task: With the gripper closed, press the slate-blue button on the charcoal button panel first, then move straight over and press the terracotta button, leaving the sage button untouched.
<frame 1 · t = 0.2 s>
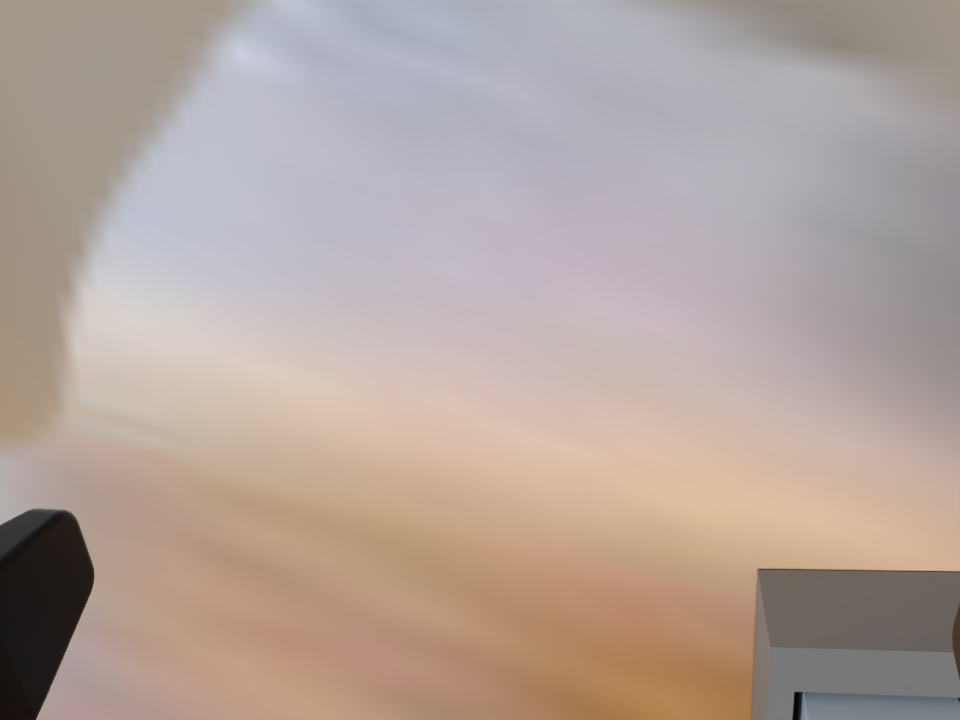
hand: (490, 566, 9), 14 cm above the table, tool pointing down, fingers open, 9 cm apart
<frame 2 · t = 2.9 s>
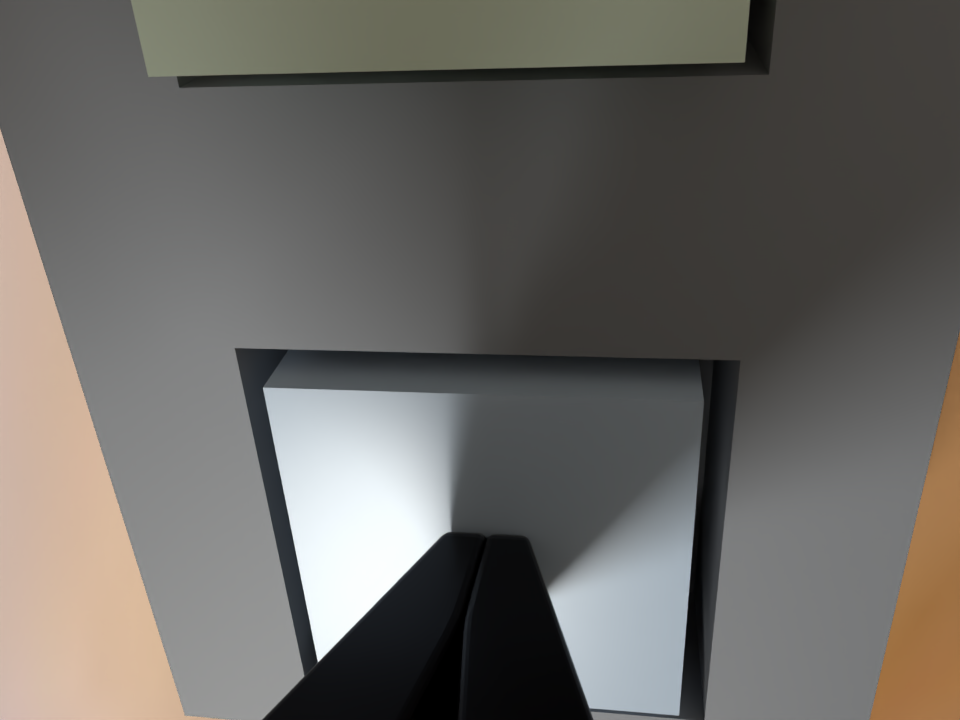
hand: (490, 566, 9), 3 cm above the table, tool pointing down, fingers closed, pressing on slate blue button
slate blue button: (497, 507, 10), point 2 cm above the table, slide at 0.8 cm, touching gripper
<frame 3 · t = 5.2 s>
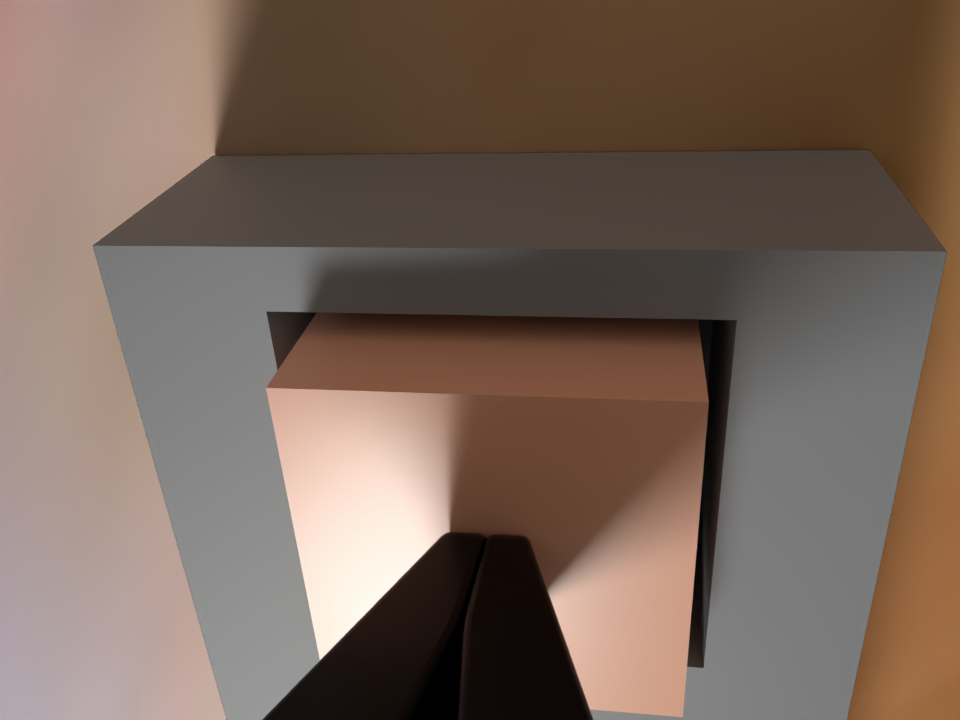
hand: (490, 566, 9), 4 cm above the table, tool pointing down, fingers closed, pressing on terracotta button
terracotta button: (501, 507, 10), point 3 cm above the table, slide at 0.0 cm, touching gripper
button panel: (540, 712, 16), on the table
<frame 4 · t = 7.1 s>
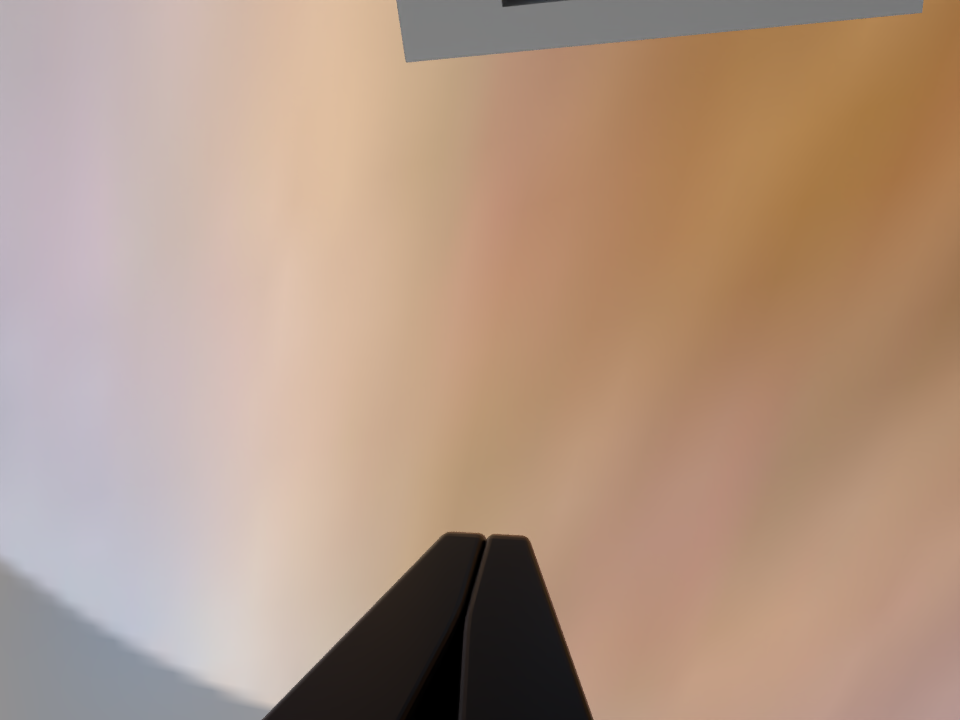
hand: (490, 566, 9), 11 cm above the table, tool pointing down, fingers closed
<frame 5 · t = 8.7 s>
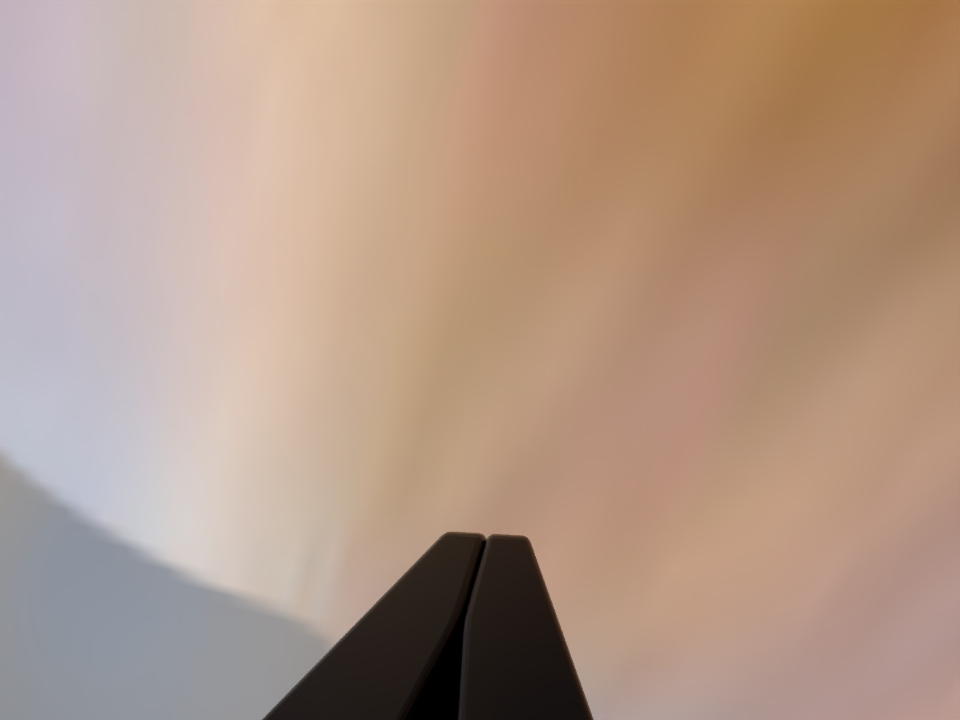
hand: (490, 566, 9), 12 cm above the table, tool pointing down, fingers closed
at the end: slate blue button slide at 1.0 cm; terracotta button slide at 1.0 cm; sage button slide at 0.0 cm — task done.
